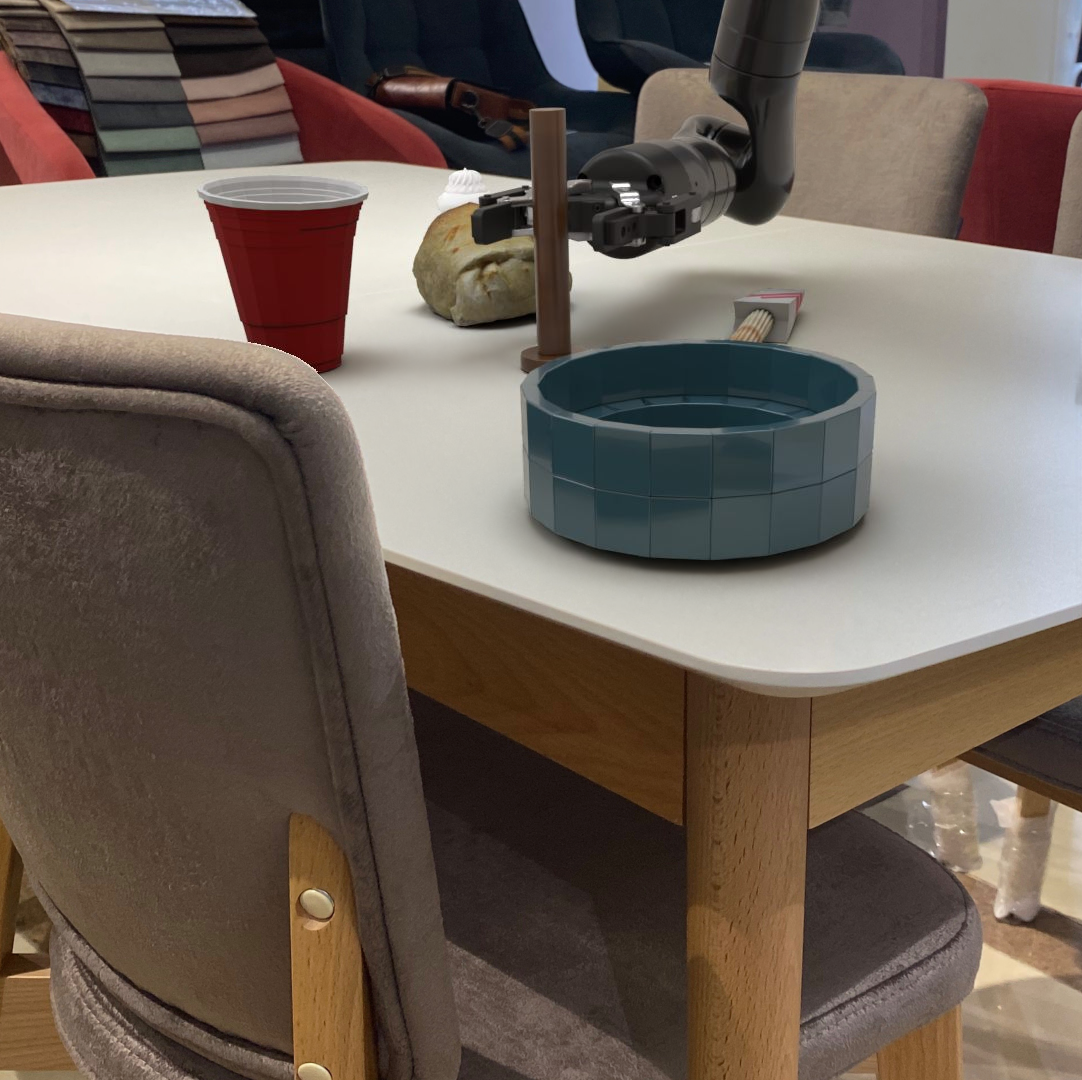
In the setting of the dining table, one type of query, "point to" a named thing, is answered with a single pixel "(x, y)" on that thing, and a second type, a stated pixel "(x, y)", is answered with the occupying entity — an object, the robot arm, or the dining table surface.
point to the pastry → (474, 272)
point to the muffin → (462, 190)
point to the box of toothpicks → (767, 315)
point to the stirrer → (550, 238)
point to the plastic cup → (288, 258)
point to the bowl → (698, 447)
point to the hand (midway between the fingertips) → (536, 231)
